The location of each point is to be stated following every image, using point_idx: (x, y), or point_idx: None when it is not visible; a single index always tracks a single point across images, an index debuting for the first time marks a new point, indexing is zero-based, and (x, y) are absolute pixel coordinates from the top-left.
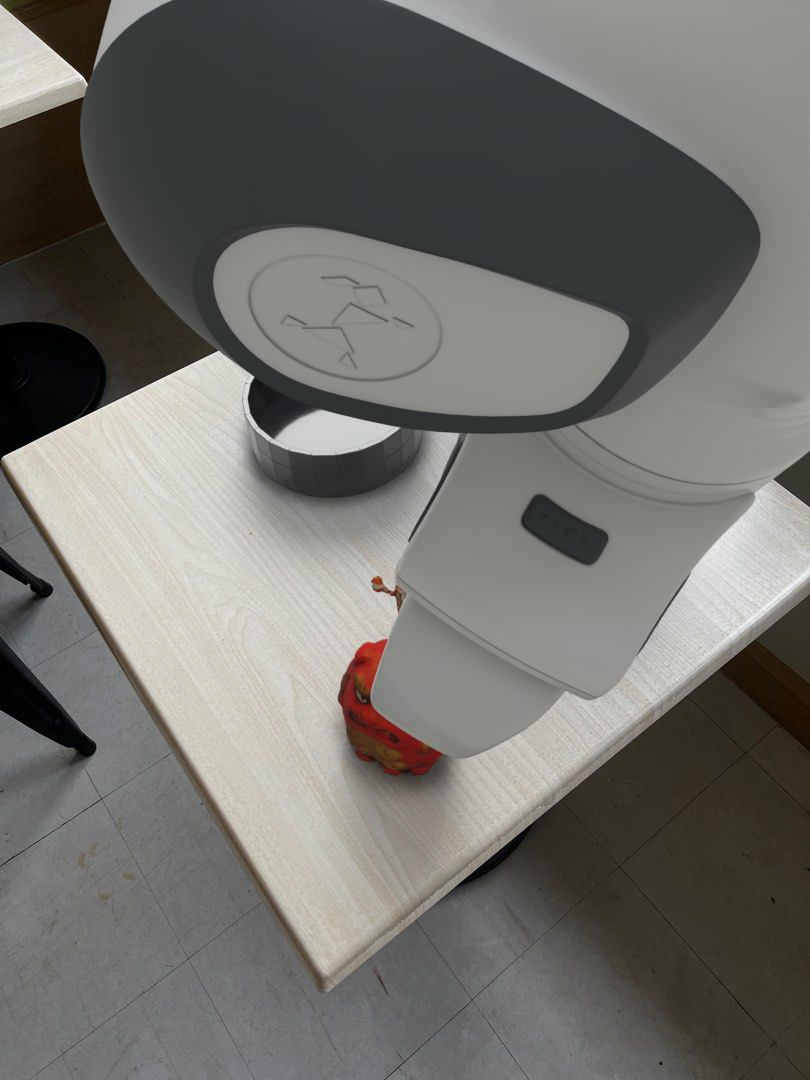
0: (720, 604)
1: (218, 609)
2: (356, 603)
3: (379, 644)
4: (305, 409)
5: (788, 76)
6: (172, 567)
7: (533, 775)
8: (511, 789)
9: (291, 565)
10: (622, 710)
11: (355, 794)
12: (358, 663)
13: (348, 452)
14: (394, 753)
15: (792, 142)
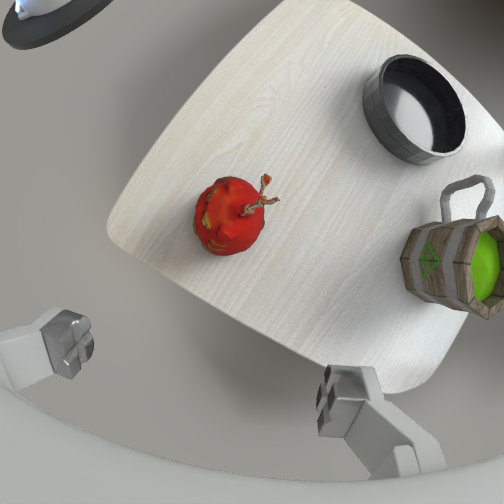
0: None
1: (268, 88)
2: (303, 161)
3: (244, 194)
4: (413, 93)
5: None
6: (284, 57)
7: (230, 304)
8: (217, 294)
9: (314, 115)
10: (287, 339)
11: (182, 210)
12: (225, 185)
13: (394, 122)
14: (195, 228)
15: None
